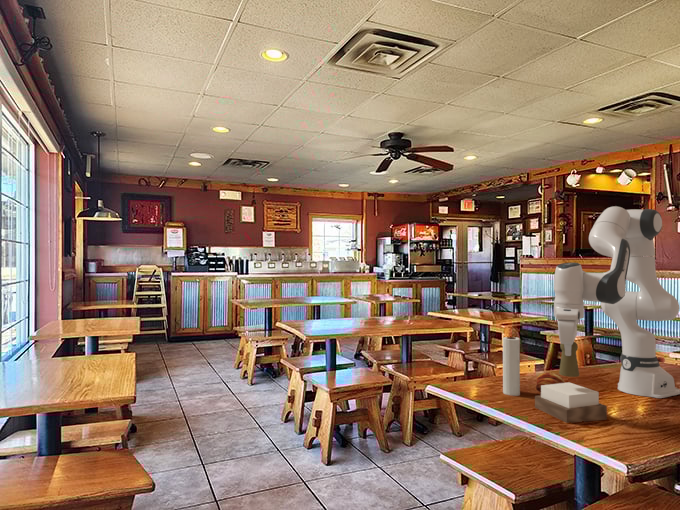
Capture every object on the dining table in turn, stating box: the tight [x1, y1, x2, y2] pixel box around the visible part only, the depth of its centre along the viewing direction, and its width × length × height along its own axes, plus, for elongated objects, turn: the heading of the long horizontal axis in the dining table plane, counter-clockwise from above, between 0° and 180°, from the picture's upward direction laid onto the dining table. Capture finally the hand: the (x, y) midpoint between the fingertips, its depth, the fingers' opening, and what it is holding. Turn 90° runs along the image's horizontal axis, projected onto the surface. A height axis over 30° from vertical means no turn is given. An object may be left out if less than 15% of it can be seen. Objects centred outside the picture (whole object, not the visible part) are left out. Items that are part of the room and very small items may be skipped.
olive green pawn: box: [558, 341, 580, 378], centre depth 152 cm, size 6×6×11 cm
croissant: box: [535, 372, 566, 393], centre depth 178 cm, size 21×10×8 cm
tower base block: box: [534, 394, 608, 424], centre depth 152 cm, size 15×15×5 cm
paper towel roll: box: [502, 336, 521, 397], centre depth 174 cm, size 7×6×21 cm
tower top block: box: [540, 381, 600, 408], centre depth 152 cm, size 12×12×4 cm
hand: (569, 353), depth 152 cm, fingers closed on olive green pawn, 5 cm apart
